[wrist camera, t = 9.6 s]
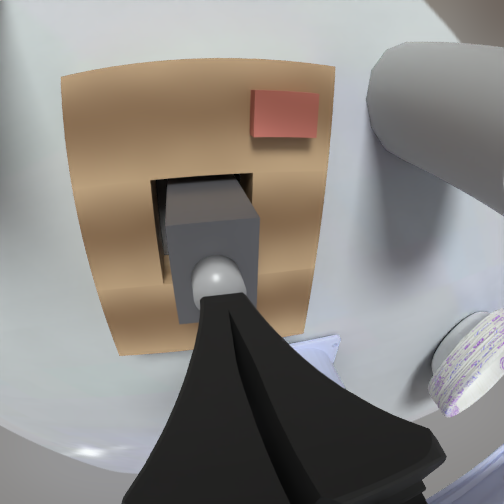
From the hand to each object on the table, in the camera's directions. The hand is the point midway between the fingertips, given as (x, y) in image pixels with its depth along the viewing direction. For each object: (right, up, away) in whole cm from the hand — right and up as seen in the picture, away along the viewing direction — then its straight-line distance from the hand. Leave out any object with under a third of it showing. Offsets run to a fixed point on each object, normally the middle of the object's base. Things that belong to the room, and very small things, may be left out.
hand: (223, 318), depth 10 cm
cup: (+12, +12, +7) cm, 18 cm away
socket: (-2, +4, +8) cm, 9 cm away
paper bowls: (+29, -10, +25) cm, 39 cm away
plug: (-2, +5, +8) cm, 9 cm away
